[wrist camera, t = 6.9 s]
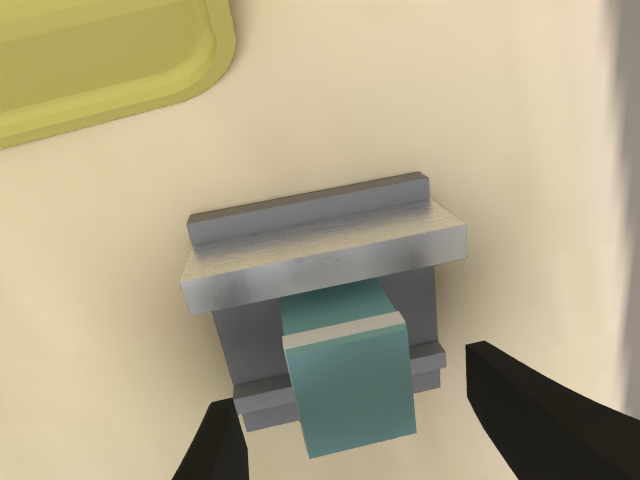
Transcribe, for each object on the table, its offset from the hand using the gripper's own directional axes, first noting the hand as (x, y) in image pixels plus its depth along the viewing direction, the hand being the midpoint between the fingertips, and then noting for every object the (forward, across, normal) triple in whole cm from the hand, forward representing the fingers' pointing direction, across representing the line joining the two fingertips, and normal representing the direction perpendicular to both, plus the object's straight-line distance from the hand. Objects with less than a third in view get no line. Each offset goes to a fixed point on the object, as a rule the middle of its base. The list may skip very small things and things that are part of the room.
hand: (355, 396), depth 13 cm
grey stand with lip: (+6, 0, 0) cm, 6 cm away
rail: (+6, 0, -3) cm, 7 cm away
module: (+5, 0, 0) cm, 5 cm away
